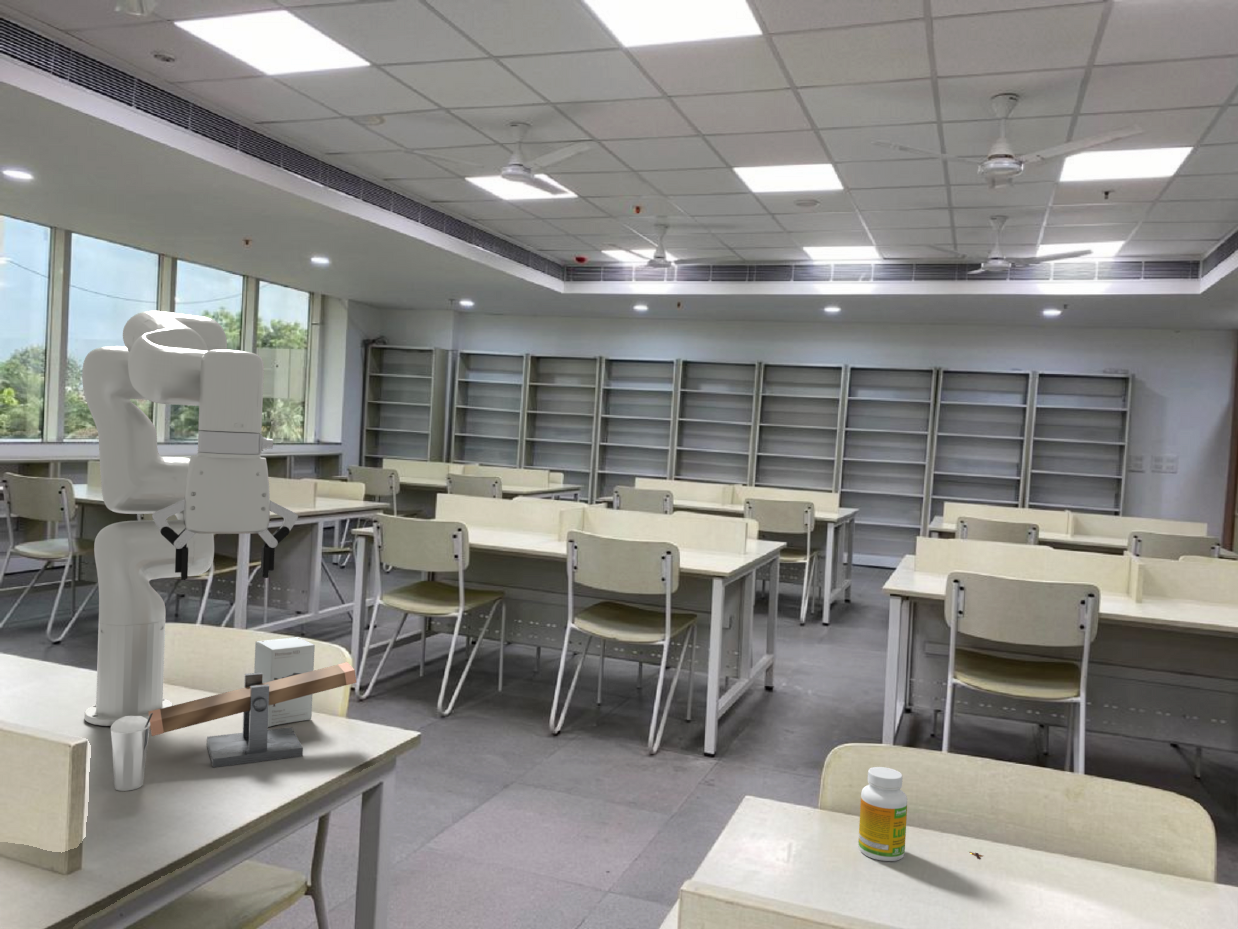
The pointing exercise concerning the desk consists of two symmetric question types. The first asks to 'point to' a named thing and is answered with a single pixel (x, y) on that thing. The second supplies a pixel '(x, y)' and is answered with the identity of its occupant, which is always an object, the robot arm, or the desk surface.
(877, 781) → the supplement bottle
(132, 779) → the milkshake
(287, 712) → the supplement box
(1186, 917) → the desk surface
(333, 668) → the beam
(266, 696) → the beam stand
